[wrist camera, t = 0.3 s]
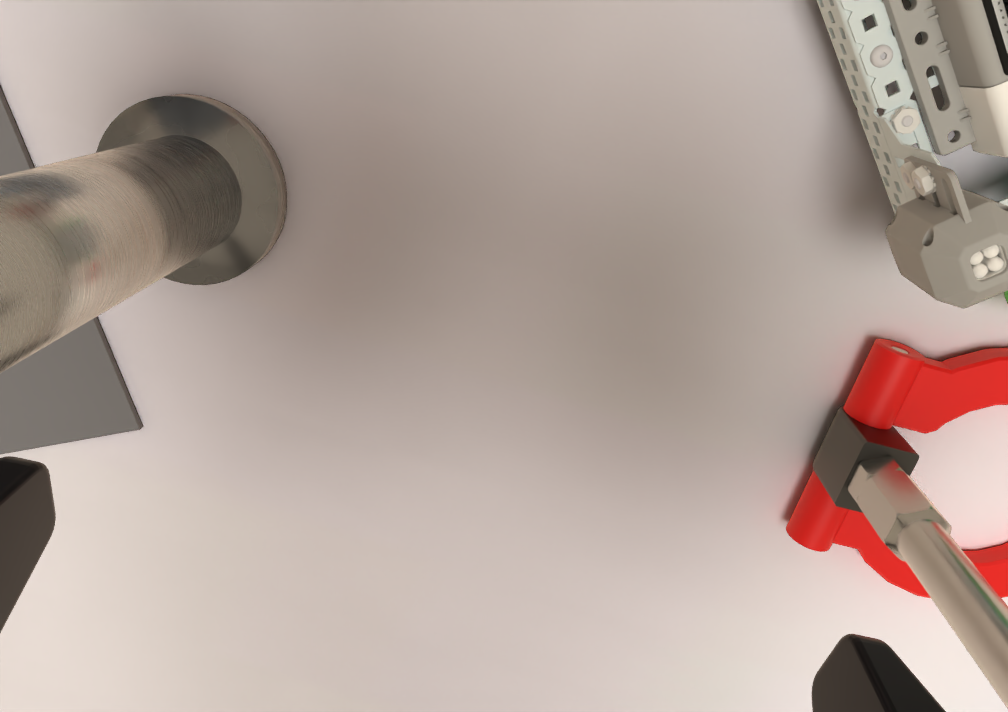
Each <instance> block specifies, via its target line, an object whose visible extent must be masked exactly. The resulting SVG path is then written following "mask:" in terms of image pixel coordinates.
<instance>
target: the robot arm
mask: <svg viewBox="0 0 1008 712" xmlns="http://www.w3.org/2000/svg"><path fill="white" fill-rule="evenodd" d="M55 518H56V517H55V507H54V501H53V494H52V487H51V481H50V474H49V470H48V469H47V467H46V466H45V465H44V464H42V463H40V462H36V461H31V460H27V459H22V458H17V457H3V458H0V633H1V631H2V629H3V627H4V625H5V623H6V621H7V619H8V617H9V615H10V614H11V612H12V610H13V608H14V606H15V604H16V602H17V600H18V598H19V596H20V595H21V593H22V591H23V589H24V587H25V585H26V583H27V581H28V579H29V577H30V576H31V574H32V572H33V570H34V568H35V566H36V564H37V562H38V560H39V558H40V557H41V555H42V553H43V551H44V549H45V547H46V545H47V543H48V541H49V539H50V537H51V535H52V532H53V530H54V526H55ZM812 707H813V712H946V711H945V710H944V709H943V708H942V707H941V706H940V704H939V703H938V702H937V701H936V700H935V699H934V697H933V696H932V695H931V694H930V693H929V692H928V690H927V689H926V688H925V687H924V686H923V685H922V683H921V682H920V681H919V680H918V679H917V678H916V676H915V675H914V674H913V673H912V672H911V671H910V670H909V668H908V667H907V666H906V665H905V664H904V663H903V661H902V660H901V659H900V658H899V657H898V656H897V654H896V653H895V652H894V651H893V650H892V649H891V648H890V647H889V646H888V645H887V644H886V643H885V642H883V641H881V640H879V639H875V638H870V637H865V636H861V635H856V634H848V635H846V636H844V637H842V638H841V639H840V641H839V642H838V643H837V645H836V646H835V648H834V649H833V651H832V652H831V653H830V655H829V656H828V658H827V659H826V661H825V662H824V663H823V665H822V666H821V668H820V669H819V671H818V672H817V674H816V676H815V678H814V681H813V686H812Z"/></svg>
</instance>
